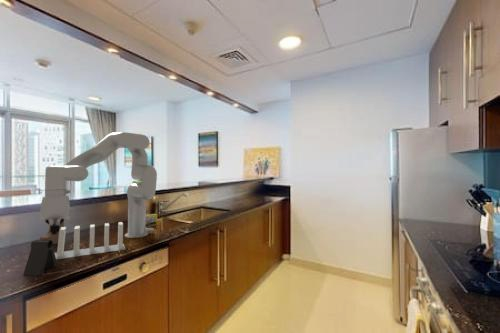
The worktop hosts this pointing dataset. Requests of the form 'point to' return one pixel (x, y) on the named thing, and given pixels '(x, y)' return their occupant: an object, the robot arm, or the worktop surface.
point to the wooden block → (49, 235)
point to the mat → (86, 251)
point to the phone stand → (40, 258)
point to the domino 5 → (120, 235)
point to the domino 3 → (92, 238)
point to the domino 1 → (61, 241)
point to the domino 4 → (106, 237)
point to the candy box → (151, 220)
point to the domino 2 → (76, 240)
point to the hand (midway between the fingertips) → (54, 233)
